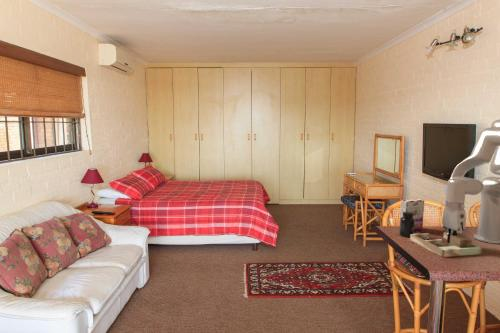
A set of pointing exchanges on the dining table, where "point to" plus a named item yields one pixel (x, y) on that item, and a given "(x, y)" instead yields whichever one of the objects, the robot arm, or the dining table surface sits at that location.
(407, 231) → the supplement bottle
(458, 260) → the dining table surface
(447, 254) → the lane box
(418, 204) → the candy bar box
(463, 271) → the dining table surface
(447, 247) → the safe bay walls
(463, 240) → the tan wooden block
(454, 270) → the dining table surface
